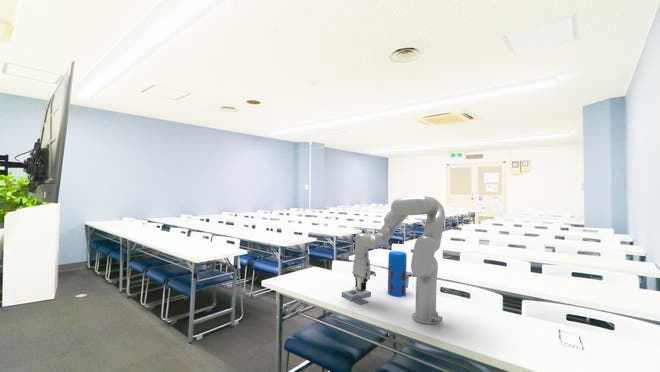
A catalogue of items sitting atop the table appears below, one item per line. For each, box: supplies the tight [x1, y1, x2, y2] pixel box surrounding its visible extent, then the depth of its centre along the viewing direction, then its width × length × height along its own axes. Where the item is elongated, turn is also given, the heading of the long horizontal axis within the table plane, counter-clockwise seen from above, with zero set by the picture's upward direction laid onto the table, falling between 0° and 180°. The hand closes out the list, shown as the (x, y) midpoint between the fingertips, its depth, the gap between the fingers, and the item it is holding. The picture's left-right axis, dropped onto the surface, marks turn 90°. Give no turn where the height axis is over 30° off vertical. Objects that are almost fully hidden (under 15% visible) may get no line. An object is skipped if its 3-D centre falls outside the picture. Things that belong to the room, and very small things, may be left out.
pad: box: [352, 298, 369, 306], centre depth 163 cm, size 6×6×1 cm
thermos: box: [387, 250, 408, 298], centre depth 179 cm, size 11×11×25 cm
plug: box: [355, 276, 365, 296], centre depth 164 cm, size 5×5×10 cm
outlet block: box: [341, 278, 372, 302], centre depth 172 cm, size 9×15×11 cm, turn 126°
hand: (360, 287), depth 164 cm, fingers closed on plug, 4 cm apart
